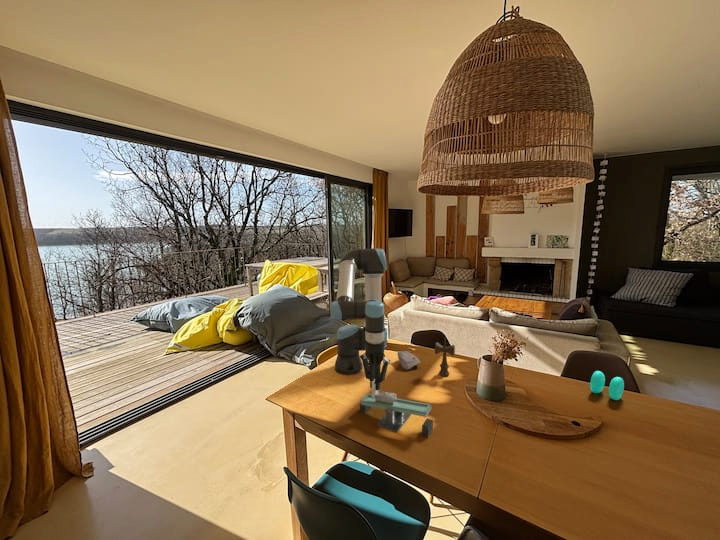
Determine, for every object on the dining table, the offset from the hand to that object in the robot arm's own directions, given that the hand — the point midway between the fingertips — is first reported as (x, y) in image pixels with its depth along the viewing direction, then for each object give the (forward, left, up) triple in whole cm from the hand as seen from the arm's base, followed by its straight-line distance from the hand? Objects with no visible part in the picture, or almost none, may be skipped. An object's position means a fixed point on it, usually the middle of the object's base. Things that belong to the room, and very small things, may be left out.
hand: (375, 396), depth 123 cm
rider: (0, +5, -1) cm, 5 cm away
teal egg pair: (-65, +81, -8) cm, 104 cm away
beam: (0, +9, -1) cm, 9 cm away
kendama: (-47, +14, -8) cm, 50 cm away
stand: (0, +9, -8) cm, 12 cm away
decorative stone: (-48, -6, -8) cm, 49 cm away
